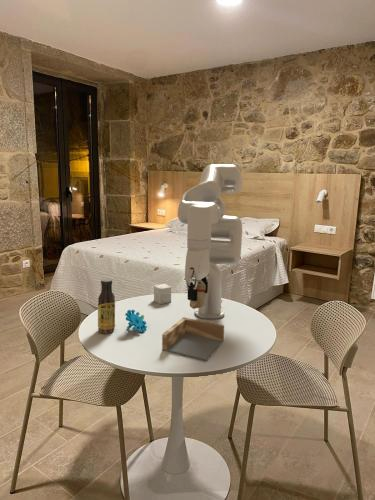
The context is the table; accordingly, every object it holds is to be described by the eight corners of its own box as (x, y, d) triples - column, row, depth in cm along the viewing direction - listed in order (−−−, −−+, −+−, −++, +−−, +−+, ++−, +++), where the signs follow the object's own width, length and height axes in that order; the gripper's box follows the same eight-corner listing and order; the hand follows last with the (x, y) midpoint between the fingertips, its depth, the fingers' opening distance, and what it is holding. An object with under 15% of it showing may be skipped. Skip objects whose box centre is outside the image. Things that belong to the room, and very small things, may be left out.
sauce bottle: (100, 335, 134) (98, 283, 130) (96, 329, 140) (94, 278, 135) (118, 332, 137) (116, 281, 133) (113, 325, 143) (111, 276, 138)
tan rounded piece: (211, 303, 122) (212, 274, 120) (195, 309, 116) (195, 279, 114) (199, 299, 126) (200, 271, 124) (183, 305, 120) (183, 275, 118)
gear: (139, 333, 133) (123, 311, 135) (128, 342, 135) (112, 320, 137) (153, 326, 143) (138, 305, 145) (143, 334, 145) (128, 314, 147)
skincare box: (165, 298, 174) (165, 283, 172) (171, 302, 169) (171, 286, 167) (153, 300, 171) (153, 285, 169) (159, 304, 166) (159, 288, 164)
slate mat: (183, 332, 138) (183, 330, 138) (223, 341, 132) (223, 339, 131) (162, 350, 124) (162, 348, 124) (206, 361, 117) (206, 359, 117)
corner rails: (183, 332, 138) (183, 317, 137) (223, 341, 132) (224, 325, 130) (162, 350, 124) (162, 334, 123) (206, 361, 117) (206, 344, 116)
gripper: (199, 238, 126) (198, 287, 130) (175, 247, 111) (175, 302, 115) (219, 240, 123) (218, 290, 127) (198, 250, 108) (197, 307, 112)
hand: (197, 296), depth 121 cm, fingers closed on tan rounded piece, 7 cm apart
